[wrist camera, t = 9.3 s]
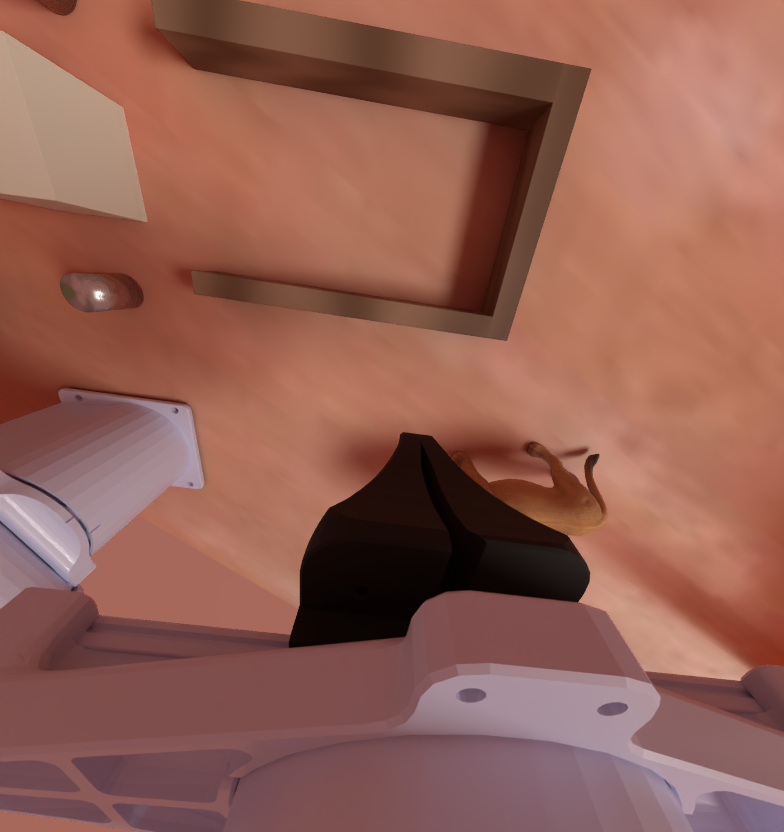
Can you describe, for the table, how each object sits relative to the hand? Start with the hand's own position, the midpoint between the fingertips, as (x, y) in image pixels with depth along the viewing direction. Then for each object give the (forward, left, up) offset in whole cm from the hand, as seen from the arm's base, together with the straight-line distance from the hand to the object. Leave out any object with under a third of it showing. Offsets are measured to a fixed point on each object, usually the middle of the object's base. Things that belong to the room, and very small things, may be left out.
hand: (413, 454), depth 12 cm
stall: (-5, +10, -9) cm, 14 cm away
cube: (-19, +10, -10) cm, 24 cm away
